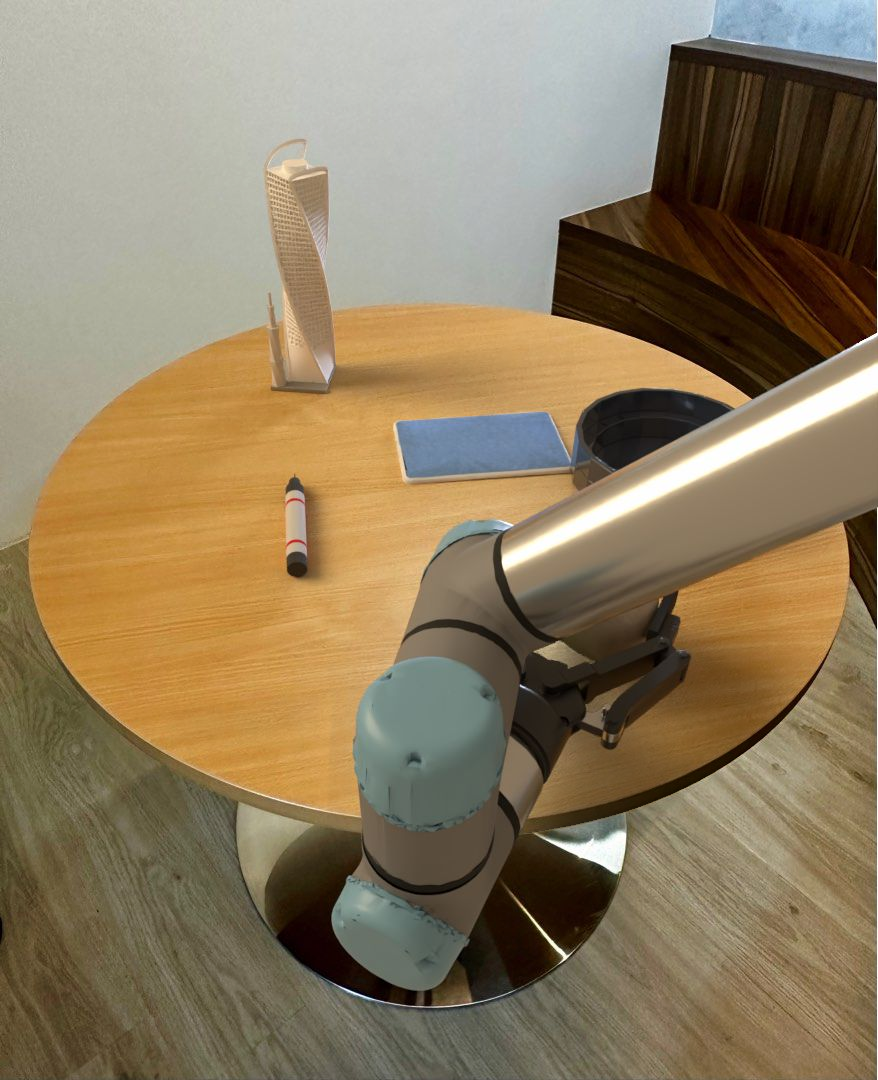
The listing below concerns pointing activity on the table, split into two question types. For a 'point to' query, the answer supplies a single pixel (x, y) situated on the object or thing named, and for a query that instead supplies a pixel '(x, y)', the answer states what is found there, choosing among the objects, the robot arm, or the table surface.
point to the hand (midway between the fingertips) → (603, 568)
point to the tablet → (479, 447)
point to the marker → (295, 529)
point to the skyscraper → (300, 274)
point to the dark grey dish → (635, 428)
